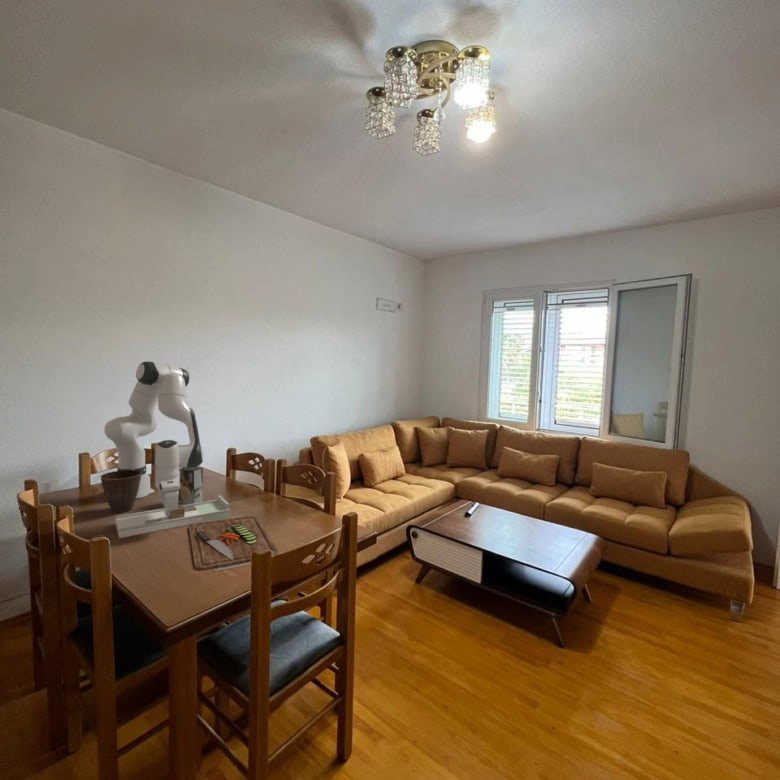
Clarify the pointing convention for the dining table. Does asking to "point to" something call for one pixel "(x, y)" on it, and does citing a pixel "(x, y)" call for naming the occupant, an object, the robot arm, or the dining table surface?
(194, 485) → the coffee box
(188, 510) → the tray
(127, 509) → the plant pot
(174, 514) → the block
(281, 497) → the dining table surface
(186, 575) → the dining table surface
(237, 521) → the chopping board
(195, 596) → the dining table surface
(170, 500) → the robot arm
